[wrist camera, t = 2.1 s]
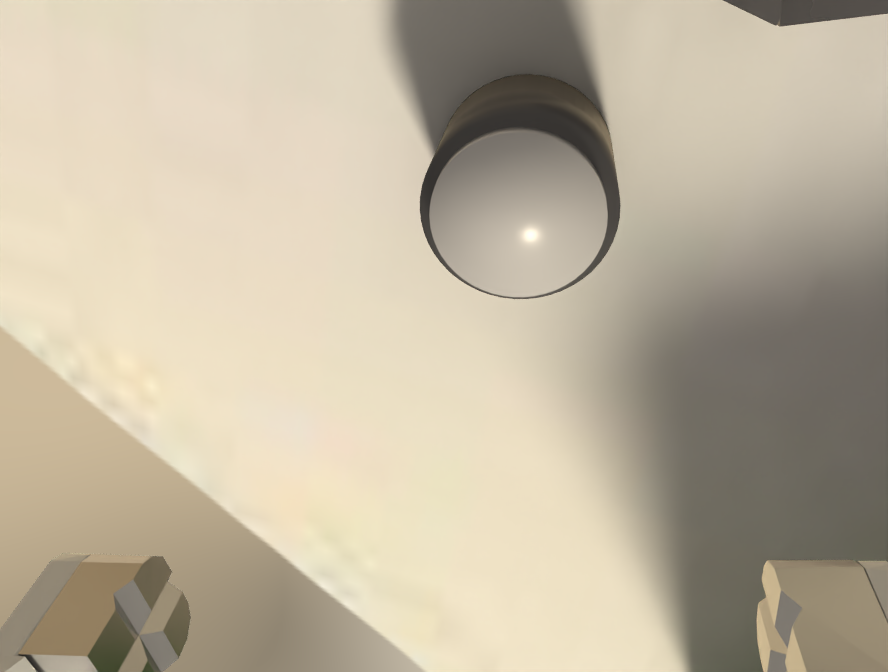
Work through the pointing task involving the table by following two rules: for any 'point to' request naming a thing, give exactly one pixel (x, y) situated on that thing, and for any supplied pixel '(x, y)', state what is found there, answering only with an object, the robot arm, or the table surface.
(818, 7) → the grey ashtray
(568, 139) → the cap
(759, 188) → the table surface
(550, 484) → the table surface
